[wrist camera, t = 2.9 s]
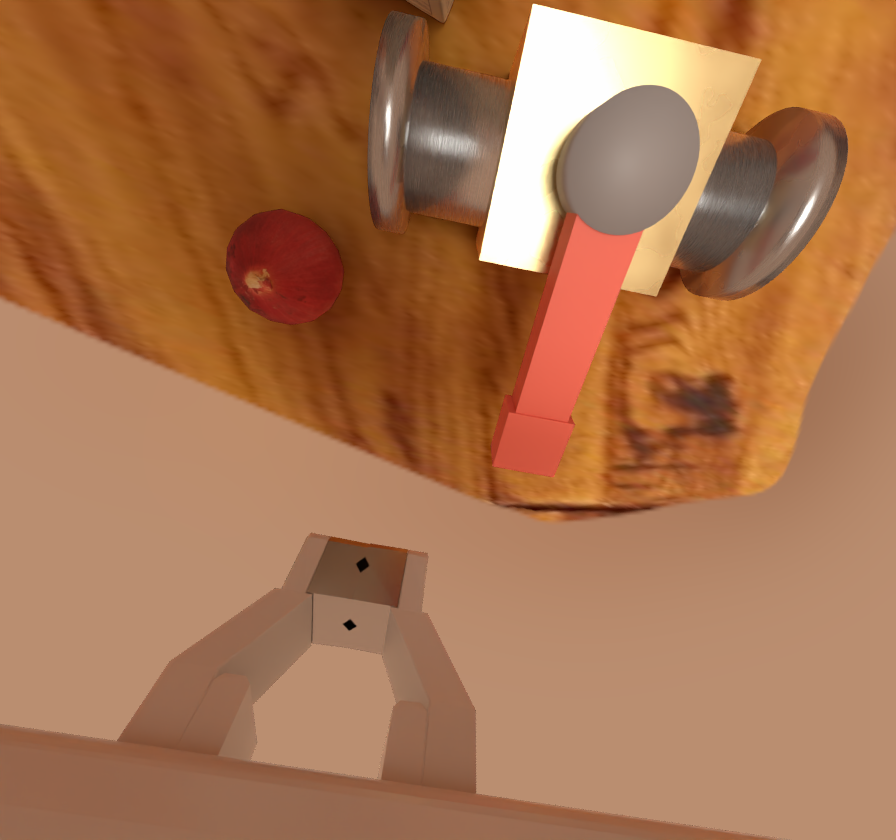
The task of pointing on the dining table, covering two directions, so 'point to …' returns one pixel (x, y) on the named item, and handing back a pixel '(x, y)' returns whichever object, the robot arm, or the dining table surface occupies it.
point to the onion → (284, 267)
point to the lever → (593, 258)
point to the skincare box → (434, 7)
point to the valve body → (547, 128)
